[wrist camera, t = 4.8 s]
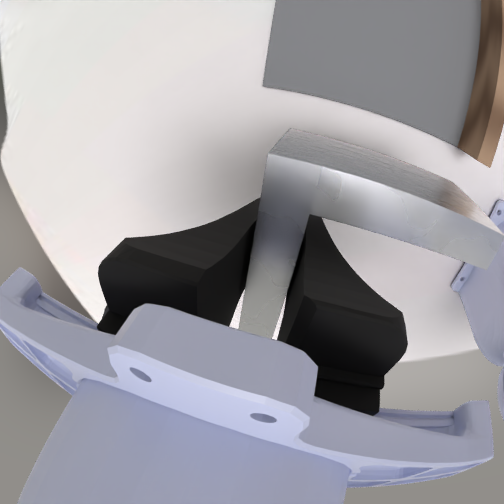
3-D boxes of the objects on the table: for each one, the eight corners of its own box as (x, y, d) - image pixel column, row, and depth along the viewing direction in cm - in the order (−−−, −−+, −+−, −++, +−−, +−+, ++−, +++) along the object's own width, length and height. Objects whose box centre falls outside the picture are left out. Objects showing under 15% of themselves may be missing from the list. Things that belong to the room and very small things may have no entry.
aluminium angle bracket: (290, 128, 11) (268, 153, 7) (452, 182, 10) (505, 236, 6) (261, 272, 15) (236, 342, 11) (391, 305, 14) (400, 377, 10)
